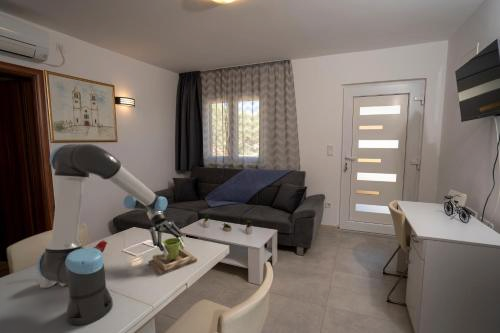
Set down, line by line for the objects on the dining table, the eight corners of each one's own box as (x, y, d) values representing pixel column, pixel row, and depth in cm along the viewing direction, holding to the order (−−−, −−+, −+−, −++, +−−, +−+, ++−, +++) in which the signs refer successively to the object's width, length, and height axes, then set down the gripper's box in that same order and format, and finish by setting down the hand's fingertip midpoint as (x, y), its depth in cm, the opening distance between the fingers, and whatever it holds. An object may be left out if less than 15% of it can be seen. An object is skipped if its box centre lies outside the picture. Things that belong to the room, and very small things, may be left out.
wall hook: (60, 290, 111) (53, 268, 110) (42, 293, 113) (35, 272, 112) (76, 280, 118) (70, 260, 118) (59, 283, 121) (52, 263, 120)
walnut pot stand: (160, 275, 122) (159, 268, 122) (148, 263, 134) (147, 257, 134) (197, 261, 135) (196, 255, 135) (183, 251, 147) (183, 246, 147)
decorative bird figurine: (109, 257, 143) (108, 240, 142) (71, 267, 132) (69, 249, 131) (108, 255, 145) (107, 238, 144) (71, 265, 134) (69, 247, 133)
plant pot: (174, 262, 128) (173, 246, 127) (159, 260, 131) (158, 243, 130) (185, 254, 137) (184, 239, 136) (170, 252, 140) (169, 237, 139)
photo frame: (163, 243, 158) (136, 255, 143) (163, 245, 158) (136, 257, 143) (149, 239, 166) (122, 249, 151) (149, 240, 166) (122, 251, 151)
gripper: (171, 215, 150) (189, 248, 142) (135, 226, 133) (153, 263, 125) (176, 208, 146) (195, 241, 138) (139, 218, 129) (158, 256, 121)
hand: (175, 251), depth 132 cm, fingers closed on plant pot, 9 cm apart
